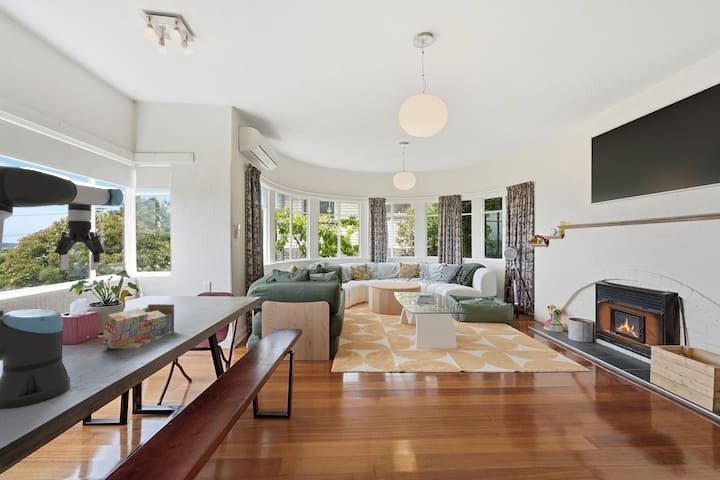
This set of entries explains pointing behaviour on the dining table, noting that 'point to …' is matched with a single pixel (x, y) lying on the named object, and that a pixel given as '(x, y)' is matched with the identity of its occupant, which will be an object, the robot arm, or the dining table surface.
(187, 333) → the dining table surface
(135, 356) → the dining table surface
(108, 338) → the stack of blocks
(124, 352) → the dining table surface
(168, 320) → the alphabet block box
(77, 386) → the dining table surface
